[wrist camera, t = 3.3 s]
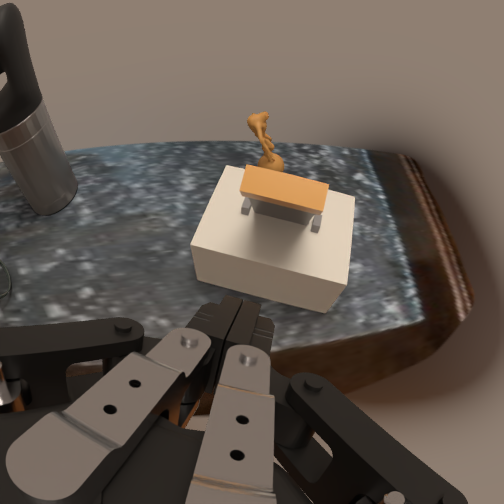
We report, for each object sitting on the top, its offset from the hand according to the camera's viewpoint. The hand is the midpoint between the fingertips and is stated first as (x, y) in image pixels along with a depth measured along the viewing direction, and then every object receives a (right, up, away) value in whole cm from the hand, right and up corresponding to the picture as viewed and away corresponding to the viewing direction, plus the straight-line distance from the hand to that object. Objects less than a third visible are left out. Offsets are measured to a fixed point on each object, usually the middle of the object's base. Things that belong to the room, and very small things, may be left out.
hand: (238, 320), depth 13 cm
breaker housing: (+3, +2, +28) cm, 28 cm away
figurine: (+2, +14, +35) cm, 38 cm away
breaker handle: (+4, +7, +20) cm, 22 cm away
